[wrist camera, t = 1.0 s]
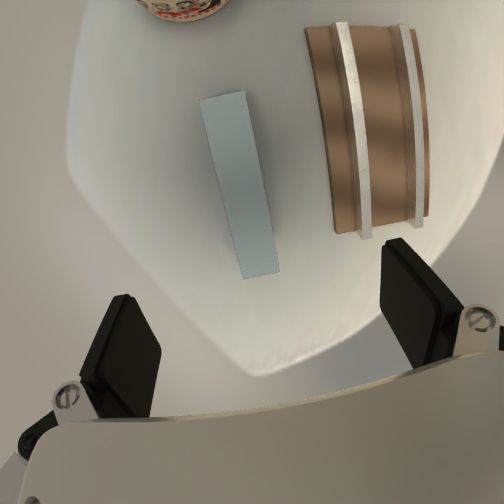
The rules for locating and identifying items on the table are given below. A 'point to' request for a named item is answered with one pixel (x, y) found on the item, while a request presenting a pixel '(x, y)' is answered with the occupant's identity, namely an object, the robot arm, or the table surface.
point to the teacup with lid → (182, 8)
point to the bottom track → (372, 124)
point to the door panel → (240, 182)
